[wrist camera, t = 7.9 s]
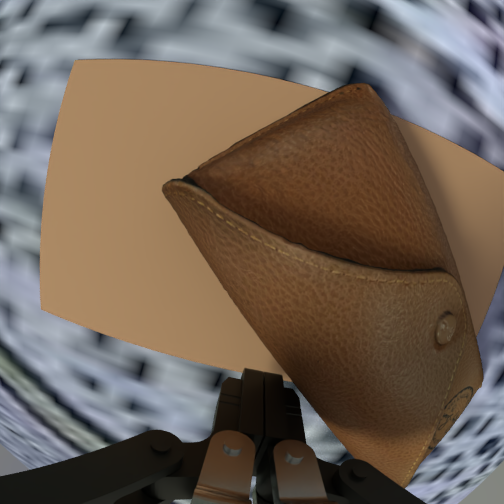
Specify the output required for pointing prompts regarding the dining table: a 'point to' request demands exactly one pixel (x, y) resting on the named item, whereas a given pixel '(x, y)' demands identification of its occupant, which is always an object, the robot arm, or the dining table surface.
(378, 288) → the sunglasses case
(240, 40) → the dining table surface
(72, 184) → the mat
